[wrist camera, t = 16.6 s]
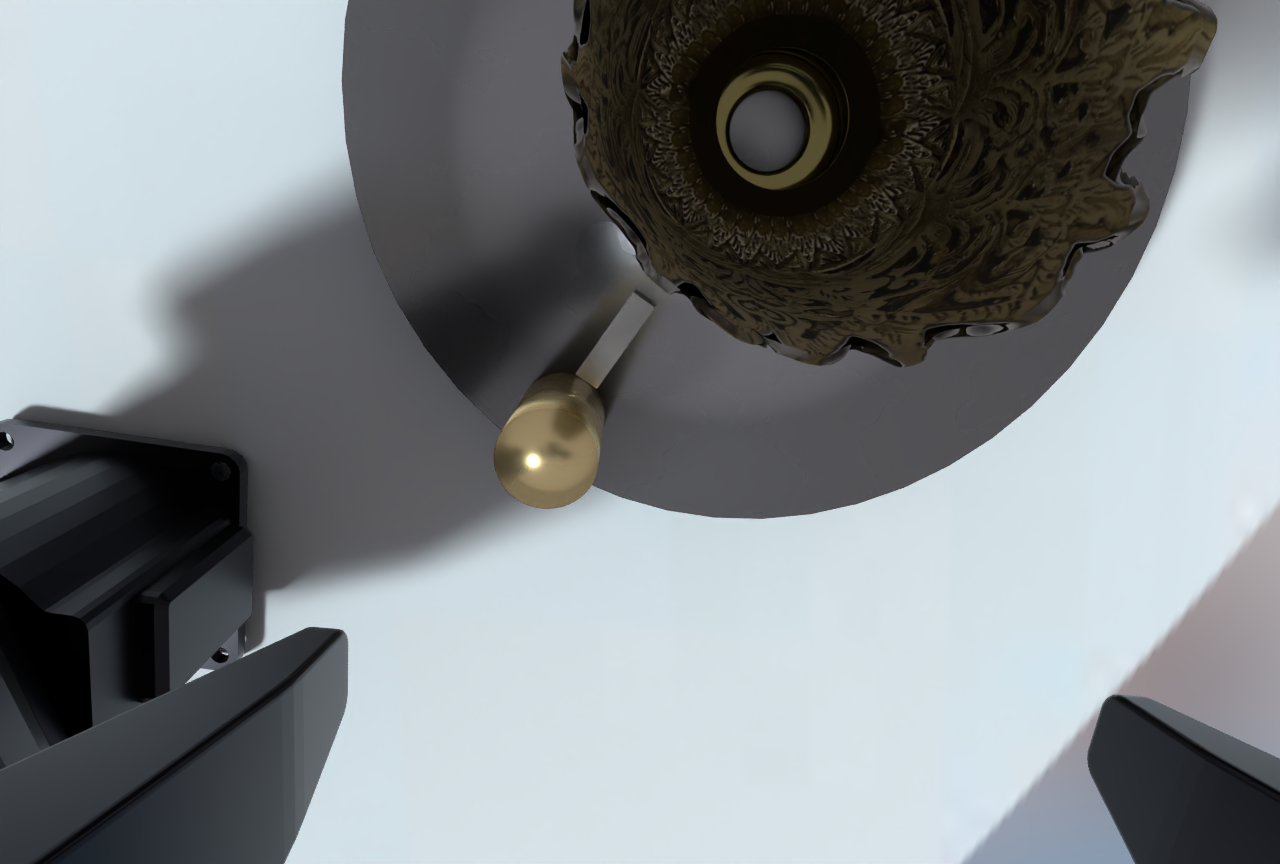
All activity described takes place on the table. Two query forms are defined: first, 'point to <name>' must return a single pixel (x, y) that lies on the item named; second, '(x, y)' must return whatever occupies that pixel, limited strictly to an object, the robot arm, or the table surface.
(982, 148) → the cup
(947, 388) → the turntable
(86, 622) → the robot arm
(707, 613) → the table surface
